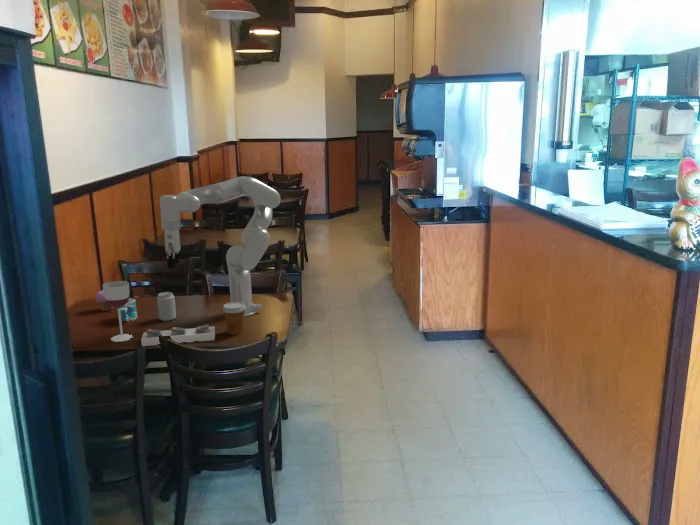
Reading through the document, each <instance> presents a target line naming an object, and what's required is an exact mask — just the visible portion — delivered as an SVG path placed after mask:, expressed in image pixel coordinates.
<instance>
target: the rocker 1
mask: <svg viewBox="0 0 700 525" xmlns="http://www.w3.org/2000/svg"><path fill="white" fill-rule="evenodd" d="M161 331H162V330H161V329H153V328H152V329H151V328H147V330H146V332H147V333H146V334H152V335H160V333H161Z"/></svg>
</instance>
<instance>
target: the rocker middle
mask: <svg viewBox="0 0 700 525" xmlns="http://www.w3.org/2000/svg"><path fill="white" fill-rule="evenodd" d="M185 329H186V327H177V326H172V328H171V330H172V331H171V332H177V333H184V332H185Z"/></svg>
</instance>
